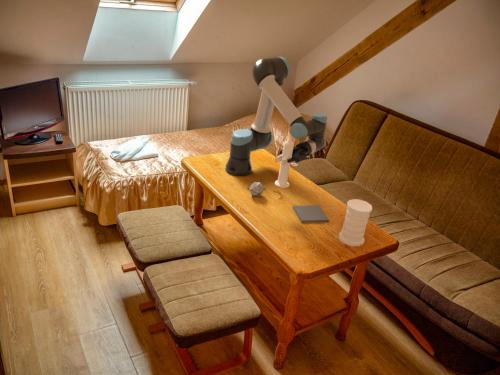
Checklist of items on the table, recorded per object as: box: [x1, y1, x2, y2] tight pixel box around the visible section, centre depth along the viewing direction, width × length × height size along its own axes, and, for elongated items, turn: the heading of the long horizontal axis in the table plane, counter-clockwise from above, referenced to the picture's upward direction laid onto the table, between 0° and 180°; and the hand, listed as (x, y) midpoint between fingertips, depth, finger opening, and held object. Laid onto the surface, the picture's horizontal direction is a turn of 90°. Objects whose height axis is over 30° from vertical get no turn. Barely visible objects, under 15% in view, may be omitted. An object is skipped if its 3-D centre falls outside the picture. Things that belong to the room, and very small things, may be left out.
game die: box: [247, 180, 266, 198], centre depth 225 cm, size 9×8×10 cm
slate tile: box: [292, 204, 330, 224], centre depth 216 cm, size 14×14×1 cm
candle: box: [274, 135, 295, 189], centre depth 205 cm, size 7×7×25 cm
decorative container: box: [338, 198, 373, 247], centre depth 196 cm, size 12×12×18 cm
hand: (279, 161), depth 200 cm, fingers closed on candle, 3 cm apart
